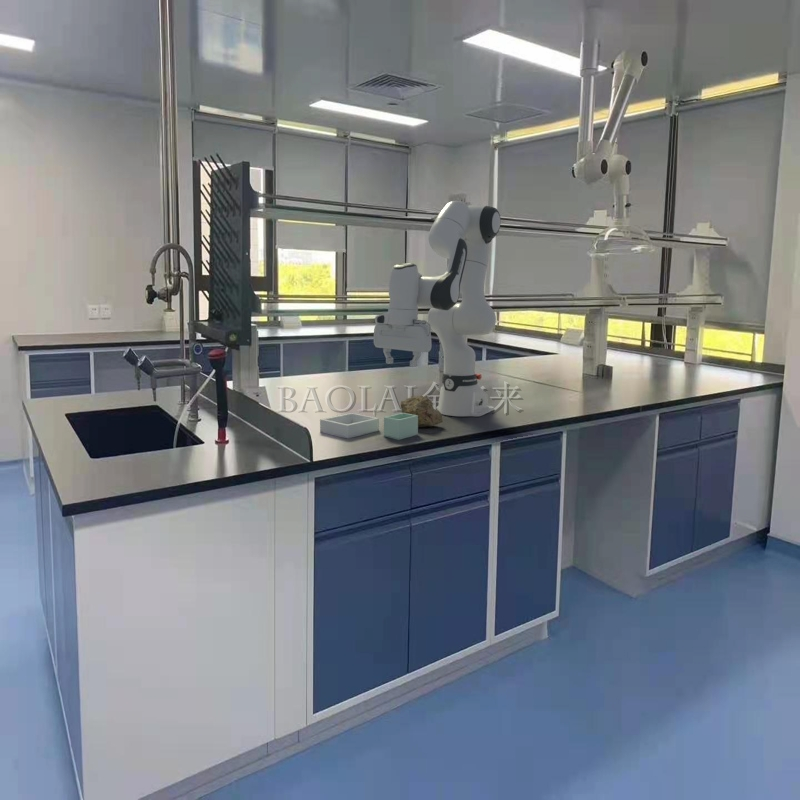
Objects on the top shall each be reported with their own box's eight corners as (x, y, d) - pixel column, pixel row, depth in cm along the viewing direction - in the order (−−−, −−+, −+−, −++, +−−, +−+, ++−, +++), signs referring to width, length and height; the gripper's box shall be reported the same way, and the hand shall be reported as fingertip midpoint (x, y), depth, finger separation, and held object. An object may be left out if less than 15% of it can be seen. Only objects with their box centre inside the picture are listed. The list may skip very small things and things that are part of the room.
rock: (409, 412, 208) (431, 393, 211) (388, 409, 218) (409, 390, 222) (425, 439, 212) (446, 420, 216) (404, 434, 222) (424, 416, 226)
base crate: (351, 424, 217) (351, 412, 216) (379, 430, 209) (379, 418, 208) (320, 432, 206) (320, 419, 206) (347, 438, 199) (347, 425, 198)
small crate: (402, 431, 209) (403, 412, 208) (417, 434, 205) (418, 415, 204) (383, 436, 202) (384, 417, 201) (398, 439, 198) (399, 420, 197)
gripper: (437, 320, 193) (435, 367, 196) (384, 316, 206) (383, 361, 209) (423, 320, 189) (421, 369, 191) (370, 317, 202) (369, 362, 204)
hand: (401, 365), depth 200 cm, fingers open, 8 cm apart
